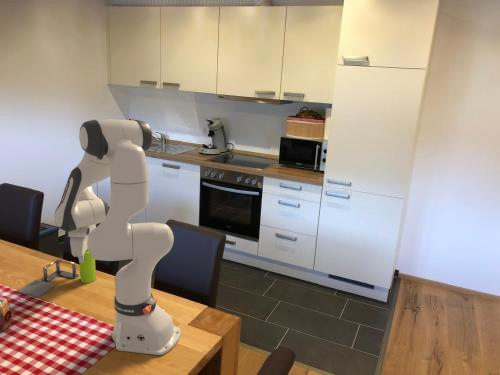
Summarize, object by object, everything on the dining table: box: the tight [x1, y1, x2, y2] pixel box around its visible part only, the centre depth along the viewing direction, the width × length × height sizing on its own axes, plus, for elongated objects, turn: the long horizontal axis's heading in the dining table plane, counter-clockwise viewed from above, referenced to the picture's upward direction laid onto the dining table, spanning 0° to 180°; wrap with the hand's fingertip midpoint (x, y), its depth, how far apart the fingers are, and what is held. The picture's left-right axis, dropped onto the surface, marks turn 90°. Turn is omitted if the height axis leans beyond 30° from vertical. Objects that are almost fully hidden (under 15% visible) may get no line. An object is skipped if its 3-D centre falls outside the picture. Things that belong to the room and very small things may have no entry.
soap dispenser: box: [78, 235, 97, 284], centre depth 167 cm, size 6×7×20 cm
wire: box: [41, 259, 80, 283], centre depth 169 cm, size 10×9×6 cm
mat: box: [16, 279, 57, 299], centre depth 161 cm, size 10×9×1 cm
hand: (85, 256), depth 167 cm, fingers open, 8 cm apart
